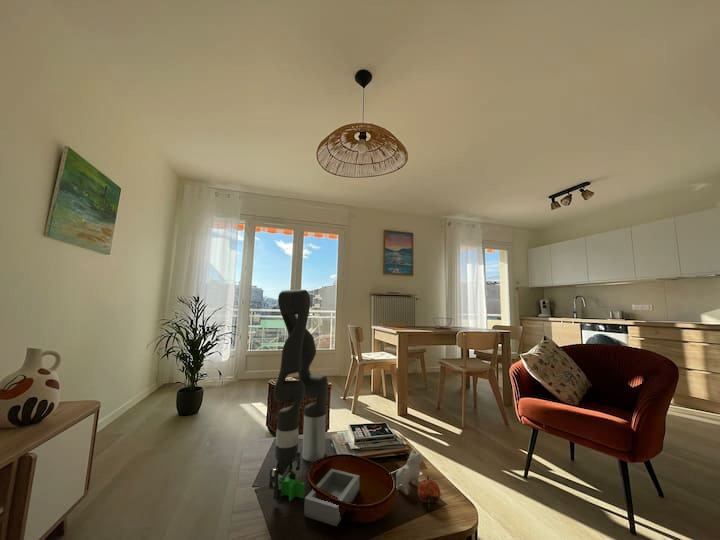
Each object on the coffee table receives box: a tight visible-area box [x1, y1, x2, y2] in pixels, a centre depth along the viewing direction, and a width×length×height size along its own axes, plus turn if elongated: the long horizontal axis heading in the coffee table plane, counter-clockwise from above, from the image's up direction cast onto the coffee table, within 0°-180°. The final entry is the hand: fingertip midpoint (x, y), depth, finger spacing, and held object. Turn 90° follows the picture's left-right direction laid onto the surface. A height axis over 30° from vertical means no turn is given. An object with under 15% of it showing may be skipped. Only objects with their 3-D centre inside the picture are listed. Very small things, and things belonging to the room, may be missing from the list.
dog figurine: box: [396, 449, 423, 496], centre depth 108 cm, size 5×13×11 cm, turn 137°
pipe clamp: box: [278, 474, 306, 502], centre depth 101 cm, size 11×4×5 cm, turn 67°
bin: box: [303, 468, 360, 527], centre depth 97 cm, size 18×11×5 cm, turn 158°
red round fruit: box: [417, 475, 441, 508], centre depth 98 cm, size 7×7×10 cm
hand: (284, 493), depth 99 cm, fingers open, 7 cm apart
